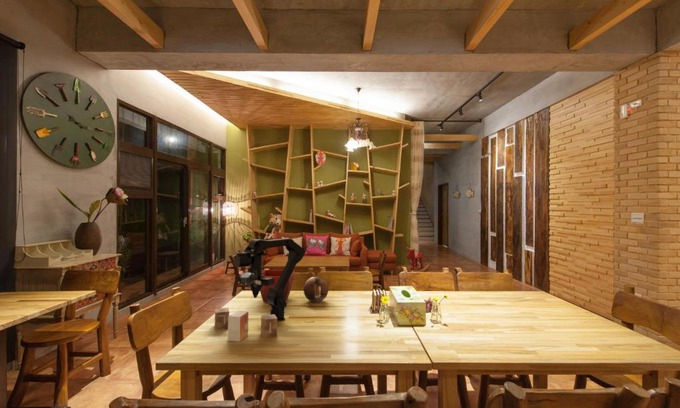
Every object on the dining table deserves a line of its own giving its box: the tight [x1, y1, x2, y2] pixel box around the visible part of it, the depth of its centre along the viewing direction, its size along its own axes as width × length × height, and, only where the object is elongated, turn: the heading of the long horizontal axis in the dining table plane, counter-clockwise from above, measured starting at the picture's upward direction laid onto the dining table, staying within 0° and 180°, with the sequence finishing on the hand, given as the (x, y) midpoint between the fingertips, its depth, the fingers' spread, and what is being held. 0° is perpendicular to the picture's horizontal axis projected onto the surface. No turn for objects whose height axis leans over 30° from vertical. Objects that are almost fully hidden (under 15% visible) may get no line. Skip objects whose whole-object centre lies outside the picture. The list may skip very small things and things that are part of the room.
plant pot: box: [259, 269, 295, 304], centre depth 202 cm, size 19×19×17 cm
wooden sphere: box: [303, 276, 329, 303], centre depth 201 cm, size 15×15×15 cm
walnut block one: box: [260, 314, 278, 339], centre depth 148 cm, size 6×6×8 cm
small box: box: [227, 310, 249, 343], centre depth 144 cm, size 8×6×10 cm
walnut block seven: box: [214, 307, 230, 331], centre depth 156 cm, size 6×6×8 cm
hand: (255, 297), depth 160 cm, fingers closed
